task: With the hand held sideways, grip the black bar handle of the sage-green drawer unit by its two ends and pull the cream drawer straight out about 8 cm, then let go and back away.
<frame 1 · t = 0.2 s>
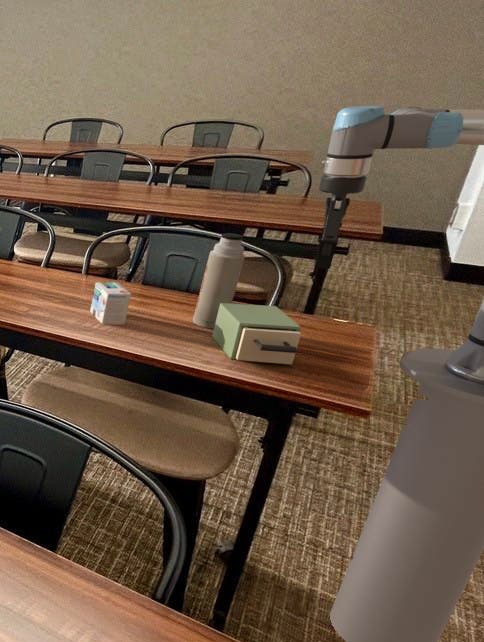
hand: (323, 259, 143), 27 cm above the table, tool pointing down, fingers open, 13 cm apart
drawer: (261, 340, 152), point 5 cm above the table, slide at 1.0 cm
cabinet: (248, 349, 158), on the table
thermos bottle: (208, 324, 175), on the table
light bulb box: (106, 319, 183), on the table
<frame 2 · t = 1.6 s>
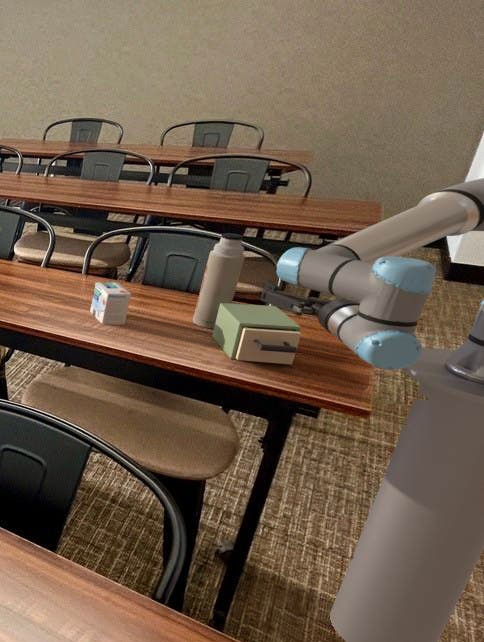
hand: (303, 287, 133), 25 cm above the table, tool horizontal, fingers open, 13 cm apart
nothing on the table moved.
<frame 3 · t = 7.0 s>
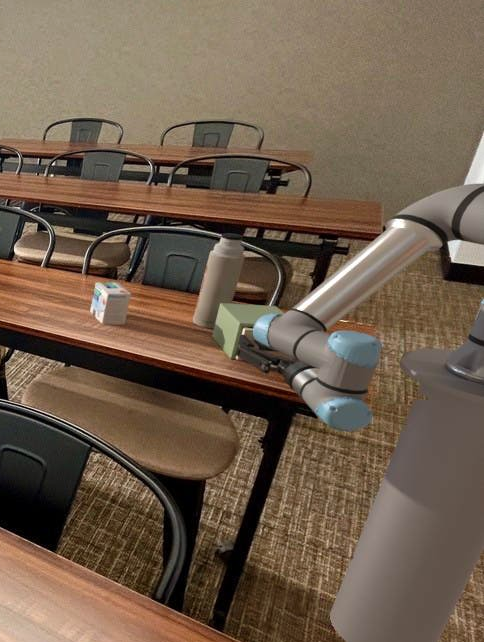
hand: (270, 341, 147), 7 cm above the table, tool horizontal, fingers closed on drawer, 11 cm apart
drawer: (261, 340, 152), point 5 cm above the table, slide at 1.0 cm, touching gripper
everything else where it was.
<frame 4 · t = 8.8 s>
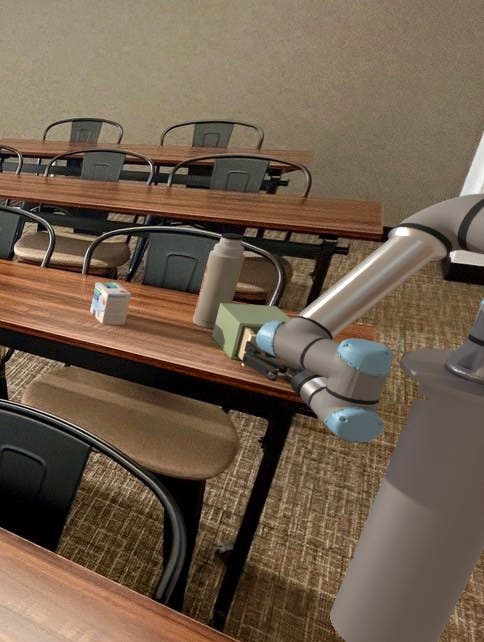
hand: (277, 348, 144), 7 cm above the table, tool horizontal, fingers closed on drawer, 11 cm apart
drawer: (268, 346, 148), point 5 cm above the table, slide at 5.0 cm, touching gripper
everything else where it was.
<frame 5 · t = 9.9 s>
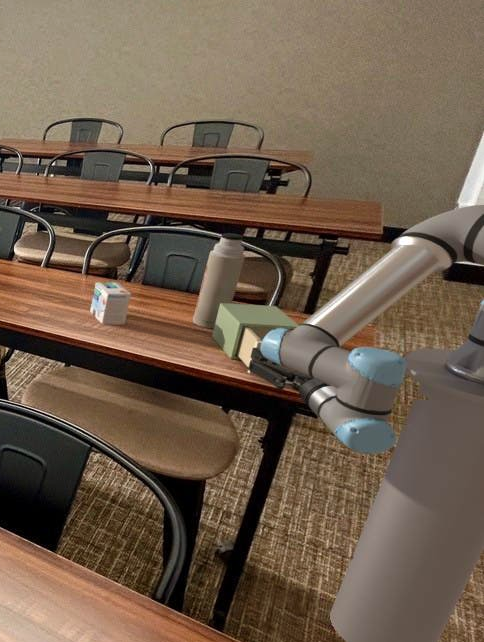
hand: (284, 355, 140), 7 cm above the table, tool horizontal, fingers closed on drawer, 11 cm apart
drawer: (274, 353, 145), point 5 cm above the table, slide at 9.0 cm, touching gripper
everything else where it was.
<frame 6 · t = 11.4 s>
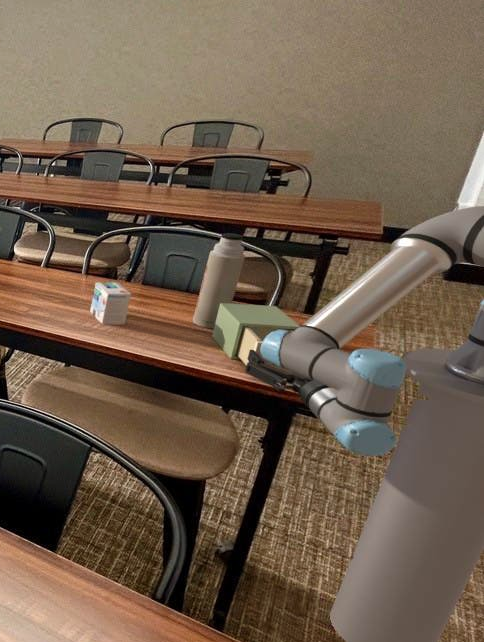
hand: (285, 357, 140), 7 cm above the table, tool horizontal, fingers open, 13 cm apart
drawer: (274, 353, 145), point 5 cm above the table, slide at 9.0 cm
everything else where it was.
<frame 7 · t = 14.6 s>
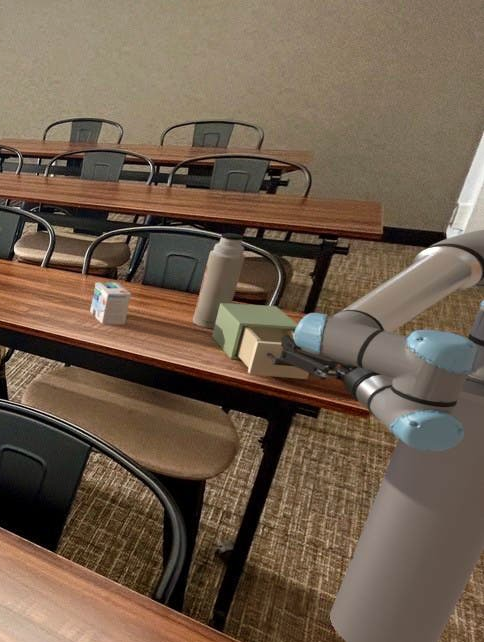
hand: (323, 342, 127), 16 cm above the table, tool horizontal, fingers open, 13 cm apart
nothing on the table moved.
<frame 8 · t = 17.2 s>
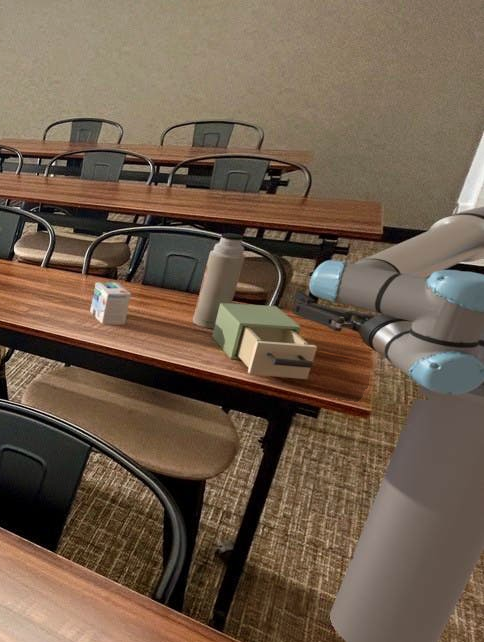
hand: (337, 298, 124), 26 cm above the table, tool horizontal, fingers open, 13 cm apart
nothing on the table moved.
at the end: drawer slide at 9.0 cm; thermos bottle moved 0.1 cm from its start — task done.
